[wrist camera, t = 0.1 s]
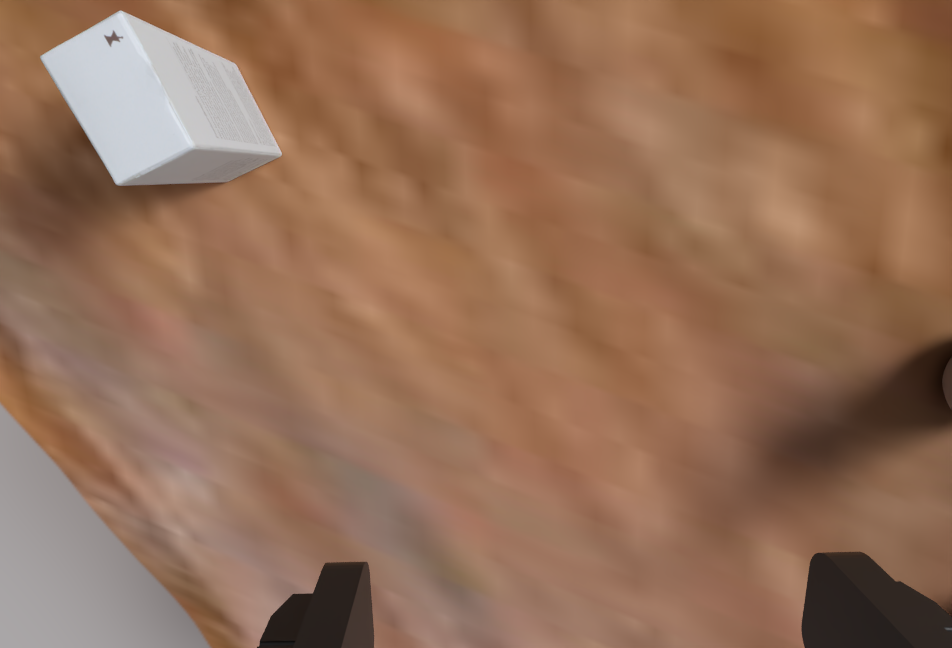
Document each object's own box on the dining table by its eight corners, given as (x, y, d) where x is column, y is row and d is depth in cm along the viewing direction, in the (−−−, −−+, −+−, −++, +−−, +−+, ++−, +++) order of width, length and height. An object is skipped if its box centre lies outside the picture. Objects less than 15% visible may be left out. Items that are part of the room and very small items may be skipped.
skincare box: (176, 94, 36) (32, 51, 24) (237, 62, 35) (121, 3, 24) (226, 187, 37) (113, 189, 26) (286, 157, 37) (198, 146, 25)
